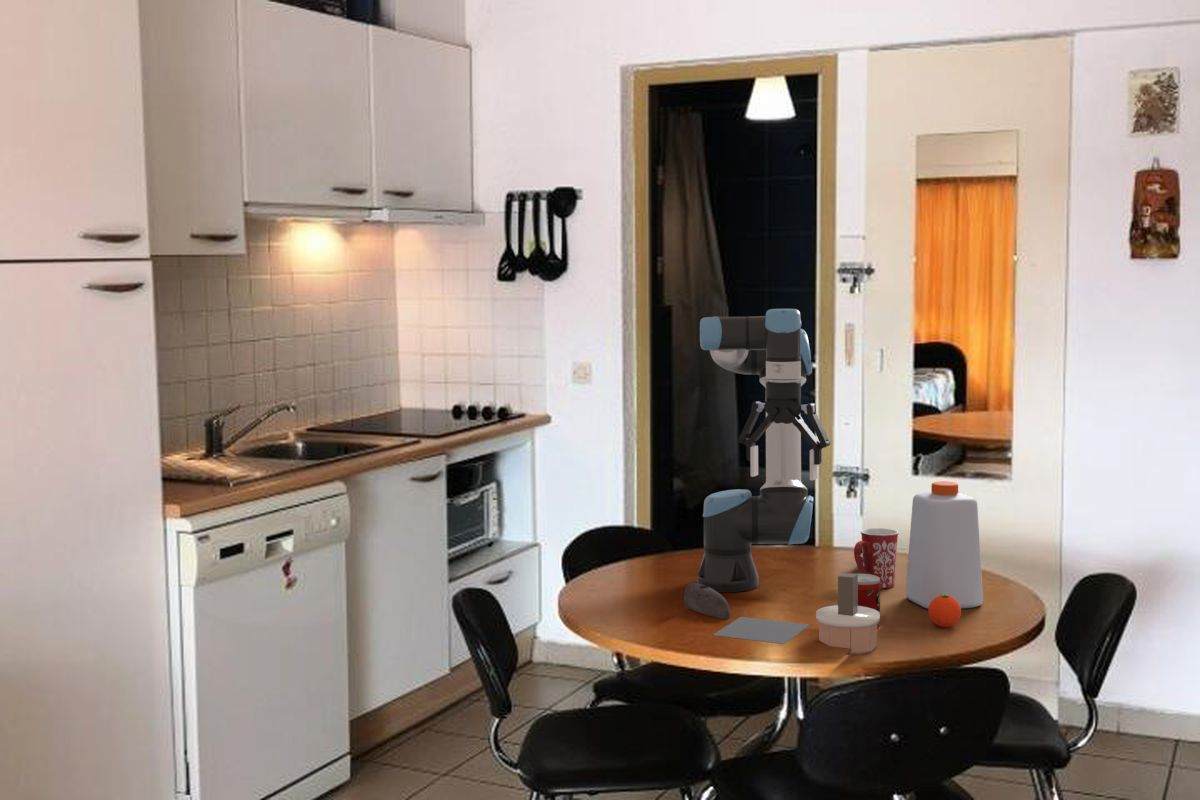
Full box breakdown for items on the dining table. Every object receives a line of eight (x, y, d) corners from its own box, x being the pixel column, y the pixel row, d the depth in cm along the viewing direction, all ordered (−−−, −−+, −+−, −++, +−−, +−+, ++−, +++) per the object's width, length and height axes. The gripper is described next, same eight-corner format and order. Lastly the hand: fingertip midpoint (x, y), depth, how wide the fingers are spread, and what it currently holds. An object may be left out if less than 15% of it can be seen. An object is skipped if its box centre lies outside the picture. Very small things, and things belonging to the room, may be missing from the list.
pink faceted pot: (813, 650, 282) (813, 622, 281) (830, 637, 292) (830, 609, 291) (866, 657, 277) (866, 628, 276) (881, 643, 287) (881, 615, 286)
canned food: (872, 633, 294) (872, 583, 293) (837, 628, 298) (837, 579, 297) (885, 625, 300) (885, 575, 299) (851, 620, 305) (851, 571, 303)
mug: (879, 579, 342) (879, 526, 340) (906, 586, 334) (906, 531, 333) (841, 586, 335) (841, 532, 334) (868, 594, 327) (868, 538, 326)
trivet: (712, 641, 290) (712, 634, 290) (741, 623, 304) (741, 616, 304) (784, 650, 282) (784, 643, 282) (810, 631, 296) (810, 624, 296)
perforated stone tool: (738, 624, 303) (737, 593, 302) (718, 628, 301) (717, 597, 300) (701, 609, 316) (701, 580, 316) (681, 613, 314) (681, 583, 313)
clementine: (924, 621, 303) (924, 589, 302) (956, 620, 303) (956, 589, 302) (931, 631, 295) (932, 598, 294) (964, 630, 295) (964, 598, 294)
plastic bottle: (928, 612, 310) (929, 490, 307) (899, 596, 324) (900, 479, 321) (989, 607, 313) (991, 486, 310) (957, 592, 328) (959, 476, 325)
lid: (807, 623, 281) (807, 579, 280) (827, 608, 292) (827, 565, 291) (869, 630, 275) (869, 585, 274) (887, 614, 286) (887, 571, 285)
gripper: (723, 380, 299) (723, 476, 301) (833, 383, 287) (833, 483, 290) (736, 377, 306) (736, 471, 308) (844, 380, 294) (844, 478, 296)
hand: (783, 477), depth 299 cm, fingers open, 13 cm apart
